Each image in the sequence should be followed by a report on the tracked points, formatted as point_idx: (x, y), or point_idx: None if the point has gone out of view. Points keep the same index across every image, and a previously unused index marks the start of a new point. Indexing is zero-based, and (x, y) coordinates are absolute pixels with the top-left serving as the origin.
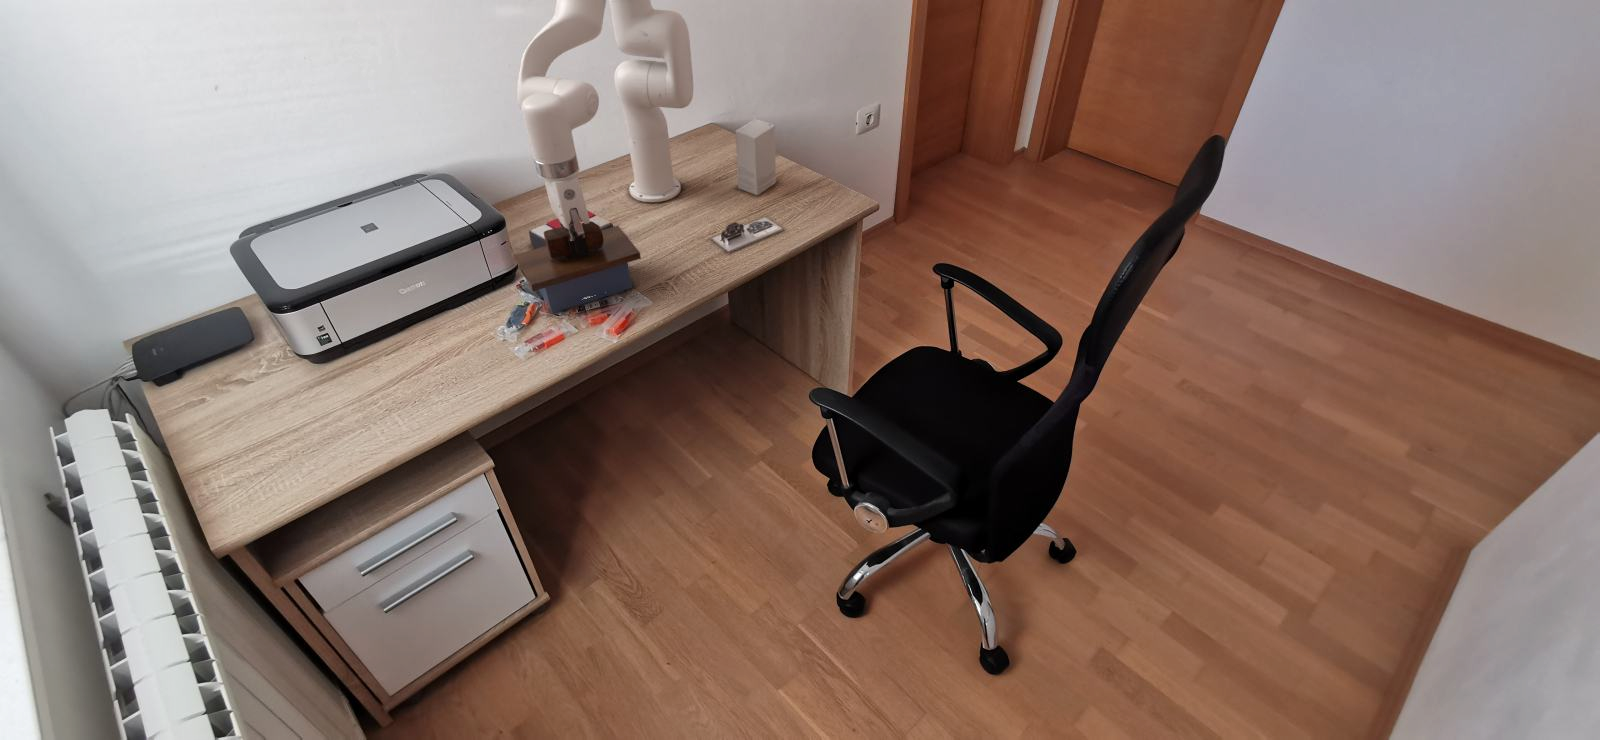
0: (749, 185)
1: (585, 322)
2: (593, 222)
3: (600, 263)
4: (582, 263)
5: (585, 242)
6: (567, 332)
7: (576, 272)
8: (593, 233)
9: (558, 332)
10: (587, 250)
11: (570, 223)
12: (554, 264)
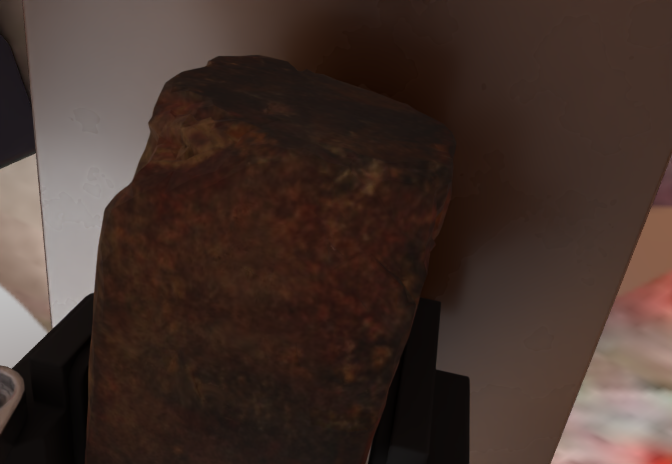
0: None
1: (665, 335)
2: (157, 194)
3: (620, 249)
4: (485, 360)
5: (431, 394)
6: (659, 431)
7: (556, 444)
8: (414, 314)
9: (621, 455)
10: (436, 321)
11: (43, 451)
12: None
